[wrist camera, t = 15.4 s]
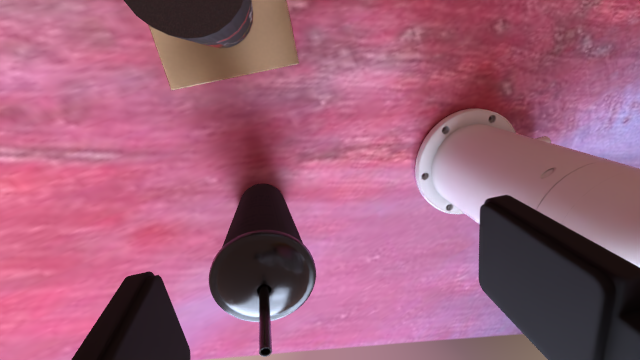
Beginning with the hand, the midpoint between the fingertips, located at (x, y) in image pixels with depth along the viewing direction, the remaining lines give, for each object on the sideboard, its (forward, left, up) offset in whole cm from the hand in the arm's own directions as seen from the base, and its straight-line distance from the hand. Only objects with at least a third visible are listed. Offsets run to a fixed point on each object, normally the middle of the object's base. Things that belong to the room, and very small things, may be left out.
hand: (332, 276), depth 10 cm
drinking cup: (+4, +8, -26) cm, 28 cm away
